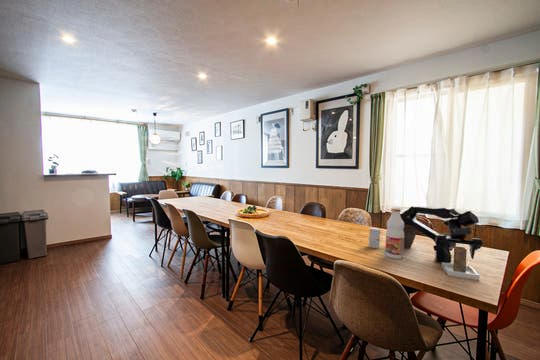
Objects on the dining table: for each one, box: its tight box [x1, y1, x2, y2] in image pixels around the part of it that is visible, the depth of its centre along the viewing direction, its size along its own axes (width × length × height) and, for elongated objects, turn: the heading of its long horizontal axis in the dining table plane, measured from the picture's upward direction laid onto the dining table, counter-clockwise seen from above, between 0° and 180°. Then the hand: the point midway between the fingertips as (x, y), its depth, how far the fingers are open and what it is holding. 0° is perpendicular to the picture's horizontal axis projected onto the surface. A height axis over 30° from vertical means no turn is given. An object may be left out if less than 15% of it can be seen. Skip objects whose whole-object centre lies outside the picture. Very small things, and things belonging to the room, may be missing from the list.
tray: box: [441, 262, 480, 281], centre depth 123 cm, size 12×12×2 cm
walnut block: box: [452, 245, 468, 273], centre depth 123 cm, size 4×4×12 cm
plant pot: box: [403, 224, 418, 249], centre depth 164 cm, size 15×15×16 cm
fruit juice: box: [385, 207, 405, 260], centre depth 145 cm, size 9×9×28 cm
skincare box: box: [368, 227, 381, 249], centre depth 163 cm, size 6×4×12 cm
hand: (460, 257), depth 121 cm, fingers open, 9 cm apart
